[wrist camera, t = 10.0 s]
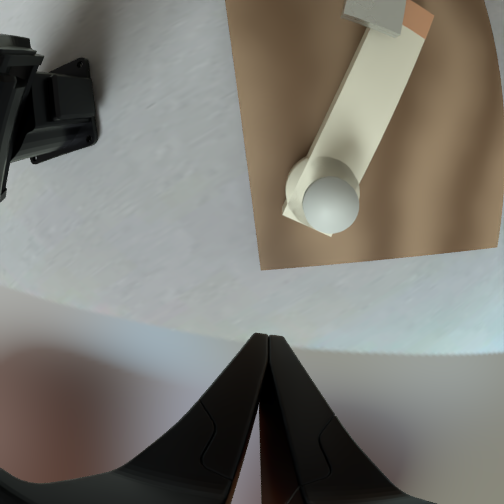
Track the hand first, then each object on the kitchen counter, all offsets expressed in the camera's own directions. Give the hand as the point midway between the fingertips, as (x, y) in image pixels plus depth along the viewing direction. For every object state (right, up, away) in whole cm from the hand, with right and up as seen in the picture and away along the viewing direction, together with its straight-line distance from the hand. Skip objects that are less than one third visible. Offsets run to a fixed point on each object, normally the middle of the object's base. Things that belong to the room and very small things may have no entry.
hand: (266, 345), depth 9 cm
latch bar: (+6, +11, +7) cm, 14 cm away
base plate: (+8, +13, +7) cm, 16 cm away
